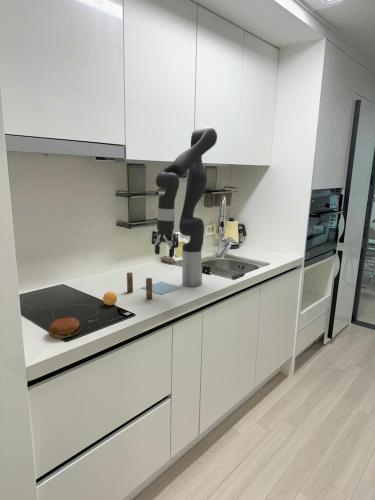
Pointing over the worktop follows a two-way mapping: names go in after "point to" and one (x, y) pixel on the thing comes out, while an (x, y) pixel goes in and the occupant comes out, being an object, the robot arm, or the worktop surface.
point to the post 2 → (148, 288)
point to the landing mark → (163, 288)
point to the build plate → (206, 269)
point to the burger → (64, 328)
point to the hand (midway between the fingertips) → (164, 255)
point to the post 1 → (129, 282)
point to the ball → (109, 298)
